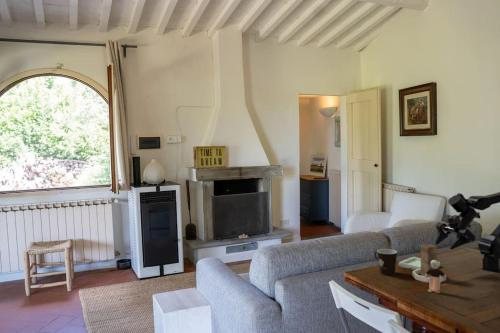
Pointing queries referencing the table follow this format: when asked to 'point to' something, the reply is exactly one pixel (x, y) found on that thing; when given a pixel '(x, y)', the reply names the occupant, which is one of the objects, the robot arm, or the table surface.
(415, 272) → the ring dish
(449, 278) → the table surface
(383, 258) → the coffee mug
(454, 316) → the table surface
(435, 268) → the grandmother figurine
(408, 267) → the tray
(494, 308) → the table surface
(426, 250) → the walnut post
